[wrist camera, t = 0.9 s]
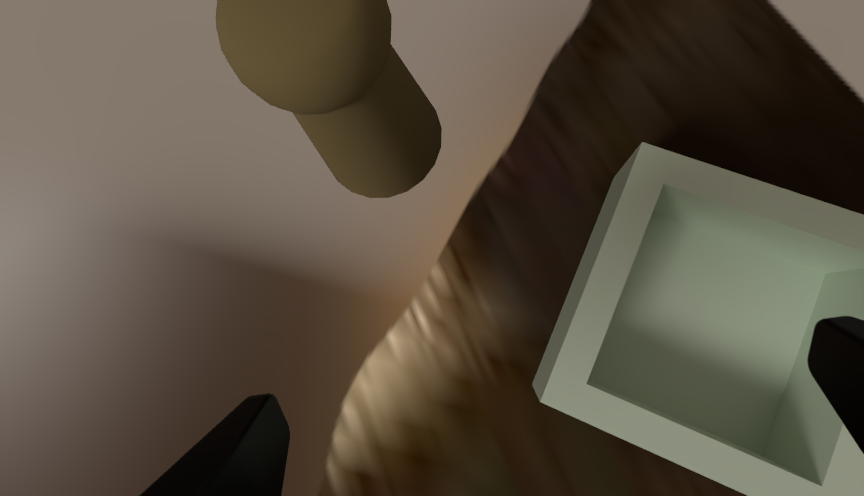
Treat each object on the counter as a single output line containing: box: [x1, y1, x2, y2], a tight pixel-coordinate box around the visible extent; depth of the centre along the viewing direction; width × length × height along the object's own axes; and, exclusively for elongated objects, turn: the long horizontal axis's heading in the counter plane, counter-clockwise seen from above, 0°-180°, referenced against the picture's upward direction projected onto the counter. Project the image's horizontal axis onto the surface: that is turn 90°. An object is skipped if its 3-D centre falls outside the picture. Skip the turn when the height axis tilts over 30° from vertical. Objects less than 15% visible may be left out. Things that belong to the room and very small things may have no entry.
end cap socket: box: [532, 142, 864, 496], centre depth 18 cm, size 10×10×4 cm
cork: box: [216, 0, 441, 198], centre depth 18 cm, size 6×6×11 cm
